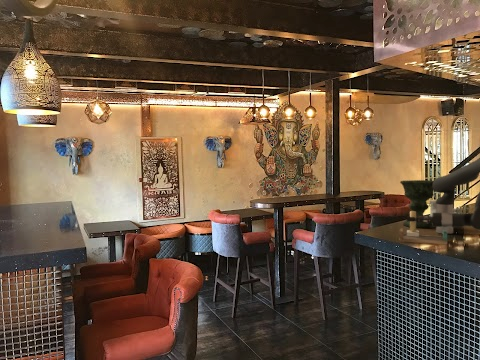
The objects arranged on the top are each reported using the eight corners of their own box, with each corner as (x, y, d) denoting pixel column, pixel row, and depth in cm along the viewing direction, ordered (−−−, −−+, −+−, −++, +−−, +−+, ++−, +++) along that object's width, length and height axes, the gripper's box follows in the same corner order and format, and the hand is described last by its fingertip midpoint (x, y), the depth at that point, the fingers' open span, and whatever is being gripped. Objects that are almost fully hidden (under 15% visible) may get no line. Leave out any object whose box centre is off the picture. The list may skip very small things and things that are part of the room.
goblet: (424, 230, 248) (424, 182, 246) (393, 225, 267) (393, 181, 265) (444, 226, 259) (444, 180, 258) (413, 222, 279) (413, 179, 277)
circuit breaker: (454, 222, 273) (455, 201, 273) (434, 223, 274) (434, 201, 273) (449, 221, 281) (449, 200, 280) (429, 221, 281) (429, 200, 280)
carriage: (407, 233, 222) (407, 210, 222) (418, 234, 220) (418, 210, 219) (406, 235, 216) (406, 212, 215) (418, 236, 213) (419, 212, 213)
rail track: (400, 238, 225) (400, 228, 225) (445, 240, 216) (445, 230, 216) (399, 241, 216) (399, 231, 216) (447, 244, 207) (447, 233, 206)
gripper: (441, 211, 218) (407, 210, 225) (443, 214, 205) (406, 213, 212) (441, 224, 218) (407, 223, 225) (443, 229, 205) (406, 227, 212)
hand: (407, 218), depth 218 cm, fingers closed on carriage, 3 cm apart
